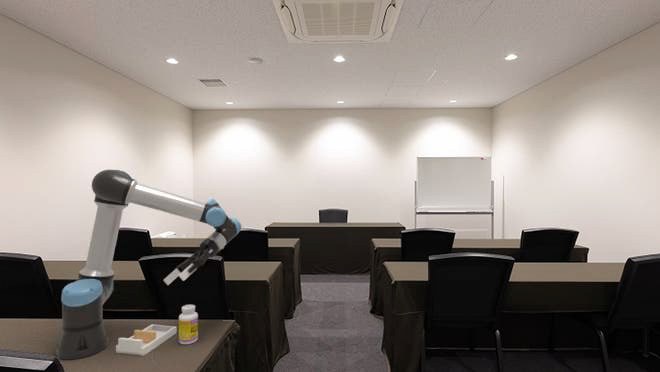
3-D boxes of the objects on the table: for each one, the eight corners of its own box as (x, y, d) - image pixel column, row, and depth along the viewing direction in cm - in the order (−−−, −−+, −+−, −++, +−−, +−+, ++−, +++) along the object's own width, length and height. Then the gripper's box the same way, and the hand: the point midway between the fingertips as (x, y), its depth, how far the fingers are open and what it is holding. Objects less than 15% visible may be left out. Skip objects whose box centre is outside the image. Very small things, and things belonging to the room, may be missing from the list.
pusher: (134, 341, 128) (134, 330, 128) (136, 340, 129) (136, 329, 129) (154, 343, 126) (154, 332, 126) (156, 342, 127) (156, 331, 127)
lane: (115, 352, 121) (115, 338, 121) (152, 330, 139) (152, 318, 139) (143, 355, 119) (143, 341, 119) (176, 332, 136) (176, 320, 136)
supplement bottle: (191, 346, 126) (191, 310, 126) (175, 344, 127) (174, 309, 127) (201, 337, 133) (201, 304, 132) (186, 336, 134) (185, 303, 134)
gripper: (233, 246, 139) (194, 284, 124) (203, 256, 155) (165, 291, 140) (222, 231, 138) (181, 268, 122) (193, 243, 154) (153, 277, 138)
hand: (173, 280), depth 131 cm, fingers open, 13 cm apart
